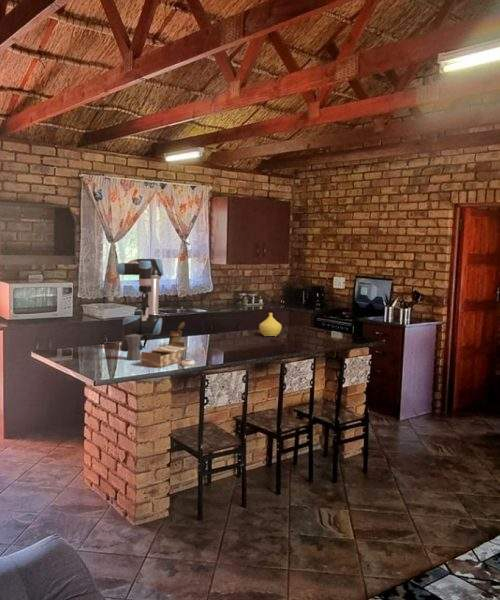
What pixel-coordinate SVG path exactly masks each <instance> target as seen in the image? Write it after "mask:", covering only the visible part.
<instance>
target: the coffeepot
mask: <svg viewBox="0 0 500 600" xmlns="http://www.w3.org/2000/svg"><path fill="white" fill-rule="evenodd" d="M124 338H125V339H126V341H127V343H128V346H129V349H128V351H127V353H126V360H127V361H132V360H134V361H141V350H140V349H139V346H140V341H141V339H144V342H143V343H142V346H141V347H142V348H144V349H145V348H146V346H147V345H146V344H147V342H148V339H149V338H148V336H147V335H137V334H135V331H133V334H131V335H126V336H124ZM141 342H142V341H141Z"/></svg>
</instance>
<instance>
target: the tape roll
mask: <svg viewBox="0 0 500 600" xmlns="http://www.w3.org/2000/svg"><path fill="white" fill-rule="evenodd" d="M180 363H181V366H182V367H193V366H195V365H196V364H195V363H196V362H195V360H194V359H183V360H180Z"/></svg>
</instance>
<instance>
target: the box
mask: <svg viewBox="0 0 500 600" xmlns="http://www.w3.org/2000/svg"><path fill="white" fill-rule="evenodd" d="M140 355H141V359H140V366H142V365H146V366H145V367H150V366H153V367H152V368H157V367H160V368H159V369H163V368H166V367H169V365H170V366H172V365H175V364H179V363H181V351H177V352H173V353H167V352H159V351H152V350H150V351H141V353H140ZM165 366H166V367H165ZM162 367H163V368H162Z"/></svg>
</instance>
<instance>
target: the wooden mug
mask: <svg viewBox="0 0 500 600" xmlns="http://www.w3.org/2000/svg"><path fill="white" fill-rule="evenodd" d="M185 326H186V323H185V321H182V322H180V323H179V325H178V327H177V330H176V331H175V330H172V331H170V332H169V335H168V337H169V339H168V345H172V341H177V342H181V341H180V340H181V338H182V334H183V333H182V330H183V329H184V328H185ZM168 345H167V346H168Z"/></svg>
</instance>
